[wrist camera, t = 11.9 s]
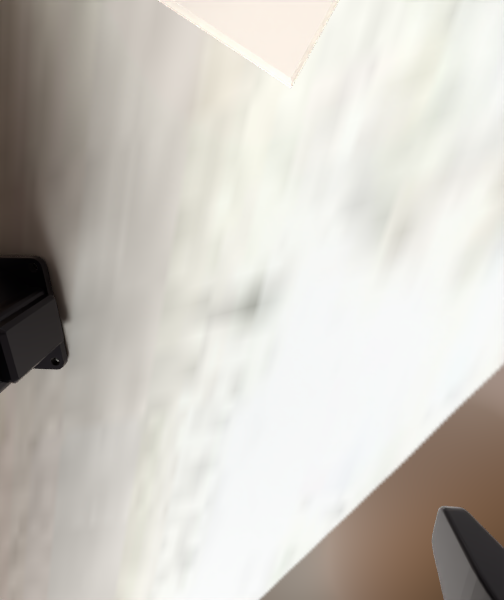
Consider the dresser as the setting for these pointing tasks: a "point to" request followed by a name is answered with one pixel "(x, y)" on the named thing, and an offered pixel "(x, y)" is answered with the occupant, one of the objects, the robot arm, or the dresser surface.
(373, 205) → the dresser surface
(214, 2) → the cream board with pegs
